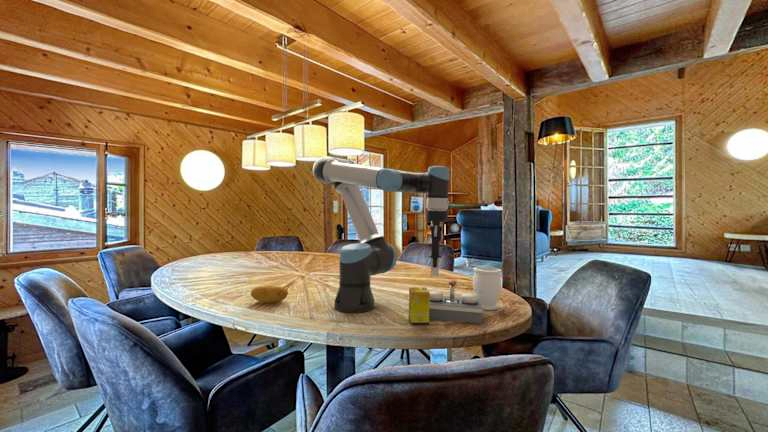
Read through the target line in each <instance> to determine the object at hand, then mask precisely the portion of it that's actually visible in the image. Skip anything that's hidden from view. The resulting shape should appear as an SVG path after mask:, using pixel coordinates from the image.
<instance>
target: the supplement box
mask: <svg viewBox="0 0 768 432" xmlns="http://www.w3.org/2000/svg"><path fill="white" fill-rule="evenodd" d="M408 288H409V289H408V292H409V293H408V320H409V322H410V325H411V326H426V325H427V326H428V325H430V319H429V303H430V292H429V291H430V290H429V289H427V287H425V286H424V287H421V286H420V287H417V286H414V287H408Z"/></svg>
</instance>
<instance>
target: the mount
mask: <svg viewBox="0 0 768 432" xmlns="http://www.w3.org/2000/svg"><path fill="white" fill-rule="evenodd" d="M449 299H450V295H443V300H440V302H432V301H430V303H429V320H438V319H439V321H449V320H450V321H451V322H460V321H462V322H461V323H474V324H483V312H484V310H483V308H482V304H481V301H480V299H478V302H477V303H475V305H470V304H464V302H462V301H461V296H454V300H457V301H458V304H457V303H446V300H449Z"/></svg>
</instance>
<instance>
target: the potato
mask: <svg viewBox="0 0 768 432" xmlns="http://www.w3.org/2000/svg"><path fill="white" fill-rule="evenodd" d="M250 295H251V297H252V299H254V300H256V301H257V302H261V303H263V304H275V303H277V304H278V303H280V302H282V301H283V300H285V299H286V298H287V297H288V295H289V291H288V289H287V288H286V287H283V286H277V285H262V286H260V285H259V286H256V287H254V288H252V290H251V292H250Z"/></svg>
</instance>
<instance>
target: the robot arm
mask: <svg viewBox="0 0 768 432" xmlns="http://www.w3.org/2000/svg"><path fill="white" fill-rule="evenodd" d="M312 173H313V176H314V178H315V179H316V180H317V181H318V182H320V183H323V184H326V185H333V188H334V191H335V192H336V193H337V194H339V195H341V198H342V201H343V203H344V205H345V208H346V211H347V213H348V216H349V218H350V220H351V223H352V225H353V228H354V230H355V232H356V235H357V238H358V240H359V242H358V243H349V244H346V245H343V246H342V248H340V250H339V251H340V253H339V258H338V260H339V285H338V290H337V292H336V295H335V298H334V306H333V307H334V309H336V310H337V311H339V312H344V313H354V314H355V313H364V312H369V311H371V310H373V309H375V306H376V305H375V304H376V303H375V301H376V300H375V298H374V294H373V291H372V288H371V277H372V276H376V275H379V274H385V273H387V272H390V271H392V270H393V269H394V268H395V267H396V264H397V261H398V253H397V250H396V248H395V247H394V245H392V244H390V243H388V242H387V240H386V238H385V236H384V235H381V234H380V233H379V231H378V229H377V226H376V223H375V221H374V219H373V217H372V214H371V211H370V210H369V207H368V205H367V202H366V200H365V198H364V195H363V193H362V190H361V189H360V188H361V187H366V188H371V189H377V190H382V191H384V192H389V193H392V192H394V193H402V194H403V193H404V194H426V213H425V214H426V215H425V216H426V218H425V219H426V221H427V222H432V225H430V233H431V234H430V239H431V254H430V255H429V259H430V261H431V262H430V276H431V277H439V273H440V271H439V270H440V265H439V264H440V258H441V257H442V255H440V253H441V252H440V248H441V247H440V246H441V245H440V244H441V243H440V242H441V239H442V232H443V226H442V225H441V223H445V222H448V217H449V211H448V209H449V205H448V204H450V203H451V201H450V200H449V192H450V191H449V189H450V188H449V187H450V180H451V179H450V169H449V168H448V166H442V165H431V166H429V167H428V168H427V172H411V171H404V170H400V169H394V168H384V167H377V166H369V165H362V164H361V165H360V164H358V163H357V162H356V161H354V160H351V159H349V158H339V157H334V156H330V155H327V156H325V155H324V156H322V157H321V156H320V157H319V158H317V160H316V161H314V163H313V167H312Z"/></svg>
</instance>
